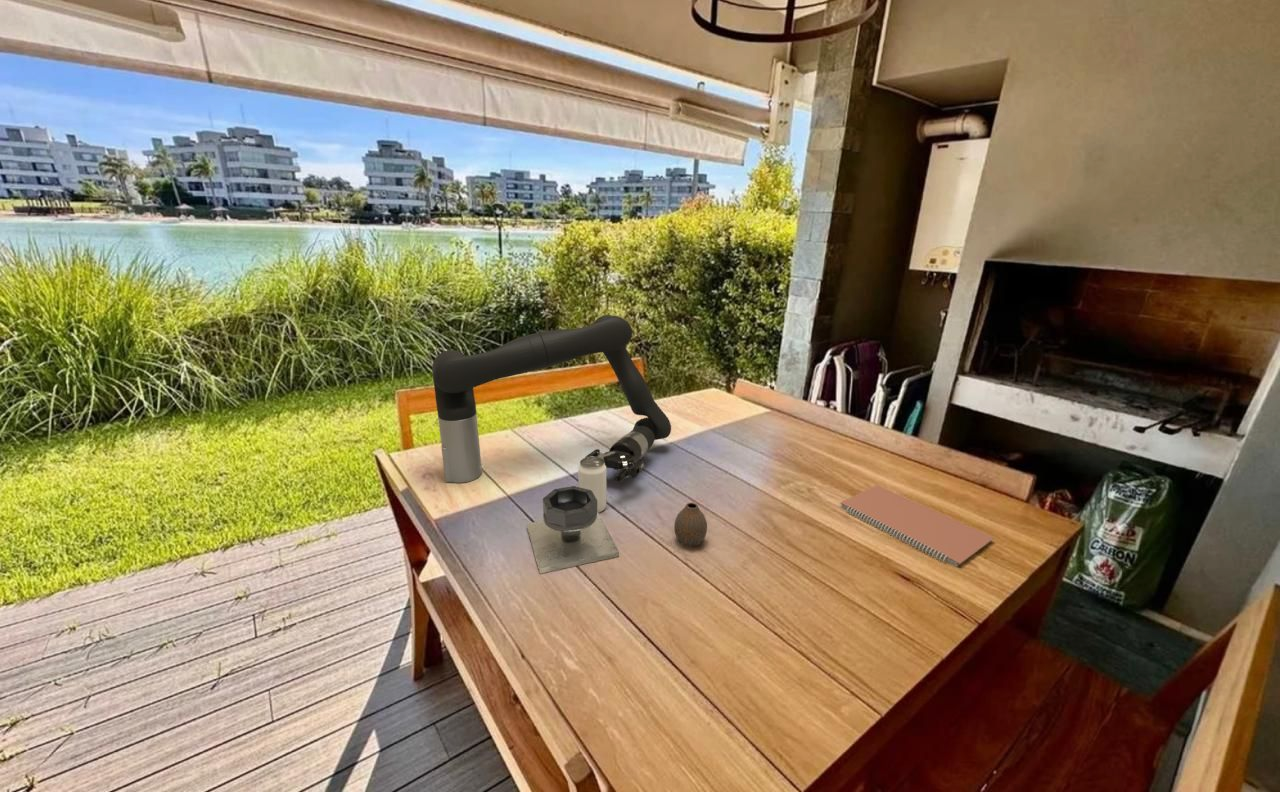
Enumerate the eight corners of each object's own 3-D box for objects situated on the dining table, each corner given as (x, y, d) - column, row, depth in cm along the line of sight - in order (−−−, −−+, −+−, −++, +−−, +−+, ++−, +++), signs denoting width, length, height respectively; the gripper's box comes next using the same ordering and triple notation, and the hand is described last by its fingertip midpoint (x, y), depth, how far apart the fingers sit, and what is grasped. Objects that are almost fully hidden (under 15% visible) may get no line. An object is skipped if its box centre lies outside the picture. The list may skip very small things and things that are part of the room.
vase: (708, 535, 109) (711, 500, 106) (702, 554, 102) (704, 517, 100) (678, 528, 111) (680, 494, 108) (669, 546, 105) (671, 510, 102)
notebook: (836, 510, 120) (837, 502, 120) (875, 490, 129) (877, 484, 129) (955, 572, 99) (957, 564, 99) (992, 544, 108) (994, 536, 108)
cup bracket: (540, 573, 96) (537, 528, 92) (527, 528, 110) (524, 487, 106) (618, 556, 101) (619, 512, 98) (597, 515, 115) (596, 475, 112)
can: (602, 516, 115) (601, 469, 111) (575, 512, 116) (574, 466, 112) (609, 501, 121) (609, 457, 117) (583, 498, 122) (583, 454, 118)
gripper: (605, 431, 134) (574, 455, 120) (654, 441, 129) (627, 467, 115) (605, 457, 137) (575, 482, 123) (653, 467, 131) (627, 496, 117)
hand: (600, 475), depth 119 cm, fingers open, 8 cm apart
